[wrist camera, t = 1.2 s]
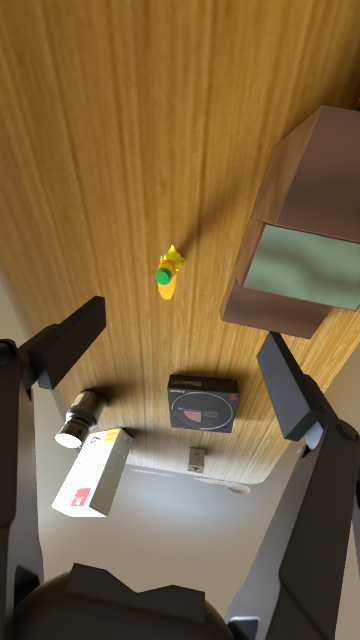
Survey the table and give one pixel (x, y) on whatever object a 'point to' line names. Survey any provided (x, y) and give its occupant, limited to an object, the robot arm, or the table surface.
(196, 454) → the dice cube
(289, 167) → the display shelf
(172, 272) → the toy figure
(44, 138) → the table surface
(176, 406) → the portable cd player
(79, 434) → the ink bottle
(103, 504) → the hard drive box
